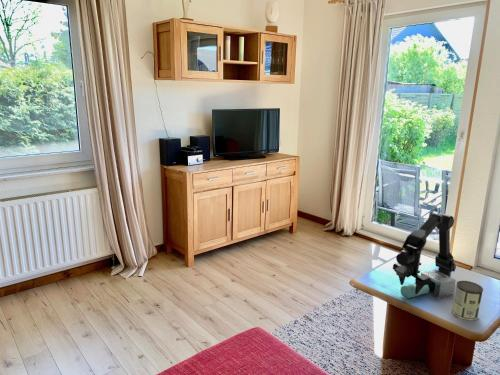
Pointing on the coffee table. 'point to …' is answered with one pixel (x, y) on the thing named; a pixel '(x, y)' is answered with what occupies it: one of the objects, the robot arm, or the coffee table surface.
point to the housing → (440, 283)
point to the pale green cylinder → (413, 291)
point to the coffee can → (467, 300)
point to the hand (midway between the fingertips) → (408, 289)
